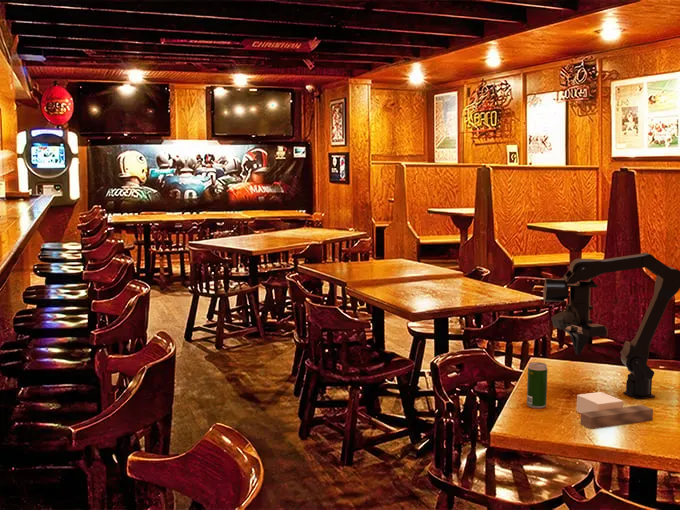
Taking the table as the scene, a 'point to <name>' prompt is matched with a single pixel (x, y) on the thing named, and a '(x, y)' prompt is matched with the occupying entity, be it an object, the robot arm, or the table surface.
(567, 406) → the table surface
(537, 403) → the beer can
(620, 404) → the block
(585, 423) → the board
